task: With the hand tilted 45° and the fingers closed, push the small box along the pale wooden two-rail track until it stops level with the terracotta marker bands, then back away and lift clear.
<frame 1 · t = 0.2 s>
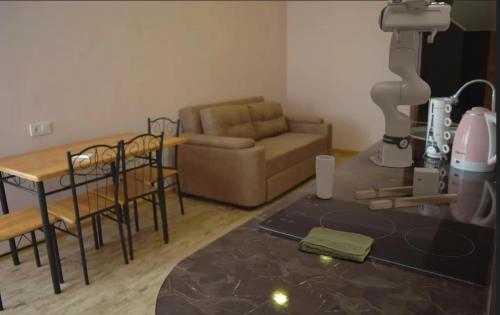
hand: (414, 42, 125), 54 cm above the worktop, tool tilted 30°, fingers open, 8 cm apart
wooden track: (404, 199, 141), on the worktop
small box: (424, 198, 143), on the worktop
washcloth: (336, 249, 107), on the worktop
drinking glass: (324, 197, 146), on the worktop
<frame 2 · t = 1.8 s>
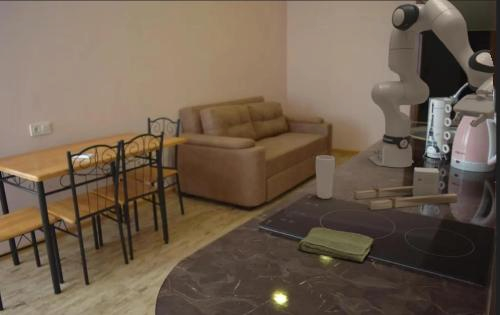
hand: (463, 124, 139), 26 cm above the worktop, tool tilted 45°, fingers open, 8 cm apart
nothing on the worktop moved.
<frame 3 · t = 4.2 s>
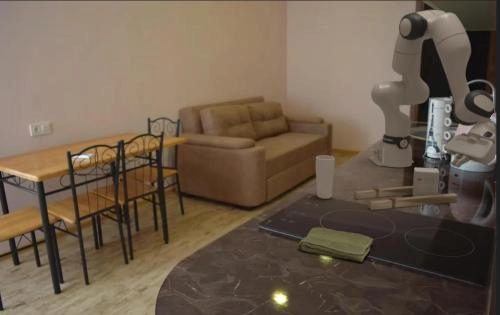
hand: (454, 165, 142), 11 cm above the worktop, tool tilted 45°, fingers closed
nothing on the worktop moved.
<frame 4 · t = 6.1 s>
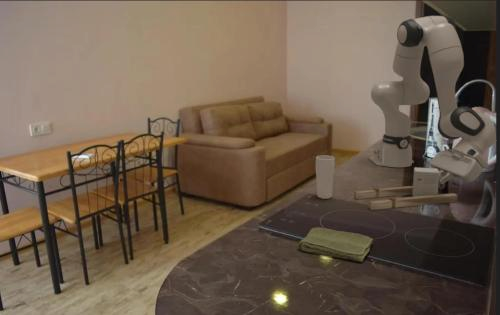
hand: (438, 182, 142), 5 cm above the worktop, tool tilted 45°, fingers closed
small box: (424, 198, 143), on the worktop, touching gripper
everything else where it was.
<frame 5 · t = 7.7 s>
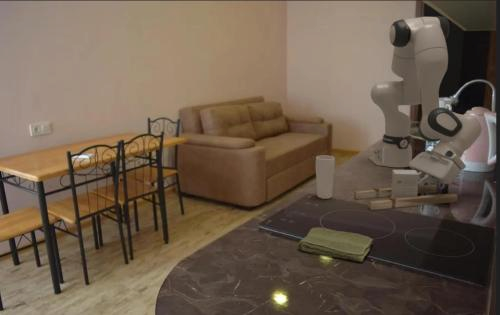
hand: (417, 184, 141), 5 cm above the worktop, tool tilted 45°, fingers closed
small box: (403, 200, 141), on the worktop, touching gripper
everything else where it was.
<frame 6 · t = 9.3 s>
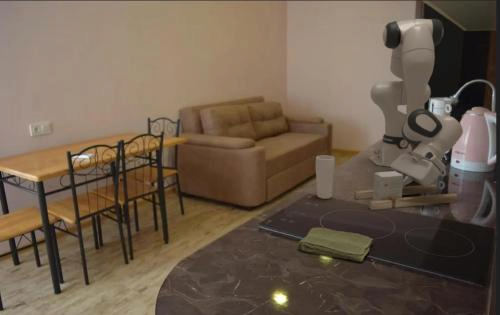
hand: (397, 185, 139), 5 cm above the worktop, tool tilted 45°, fingers closed, pressing on small box
small box: (386, 203, 139), on the worktop, touching gripper
everything else where it was.
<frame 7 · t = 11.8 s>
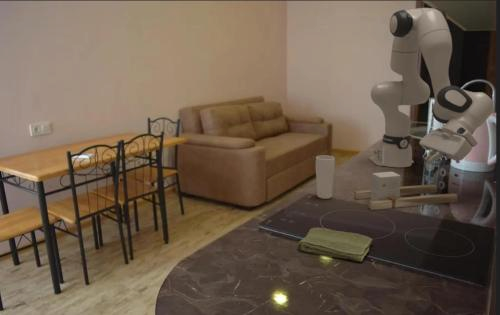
hand: (427, 161, 140), 13 cm above the worktop, tool tilted 45°, fingers closed
small box: (384, 203, 138), on the worktop
everything else where it was.
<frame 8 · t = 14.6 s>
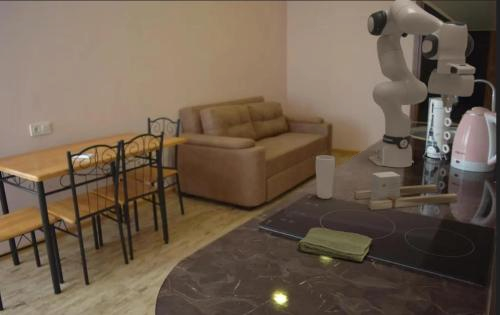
hand: (447, 107, 145), 31 cm above the worktop, tool pointing down, fingers closed
nothing on the worktop moved.
at the end: small box inside the target area (1.5 cm from its centre), on the worktop; small box tilted 0°; small box moved 16.4 cm from its start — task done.
